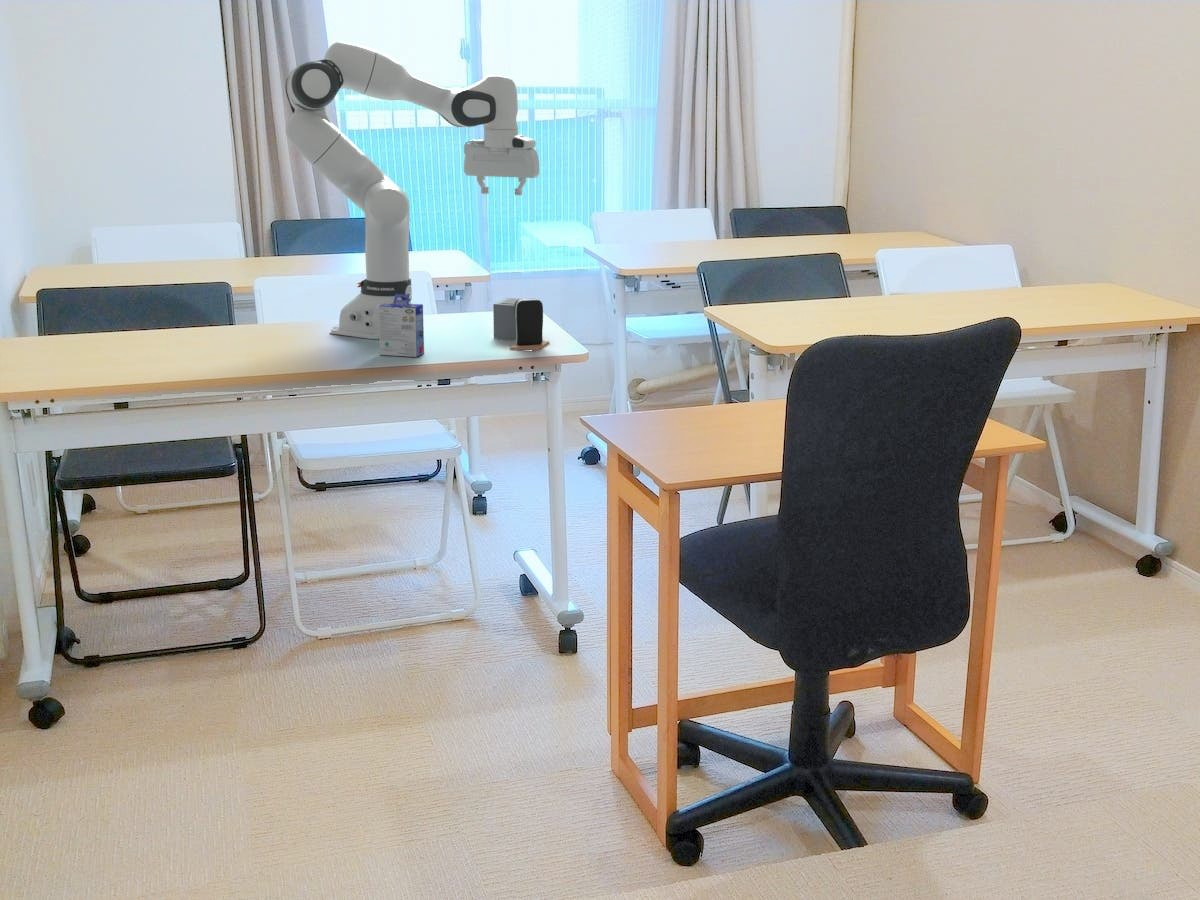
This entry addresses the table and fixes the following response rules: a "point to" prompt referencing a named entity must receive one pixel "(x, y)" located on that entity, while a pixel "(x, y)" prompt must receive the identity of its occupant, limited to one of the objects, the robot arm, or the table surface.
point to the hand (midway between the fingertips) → (501, 194)
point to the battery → (528, 321)
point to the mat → (530, 346)
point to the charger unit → (504, 319)
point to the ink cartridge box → (401, 328)
